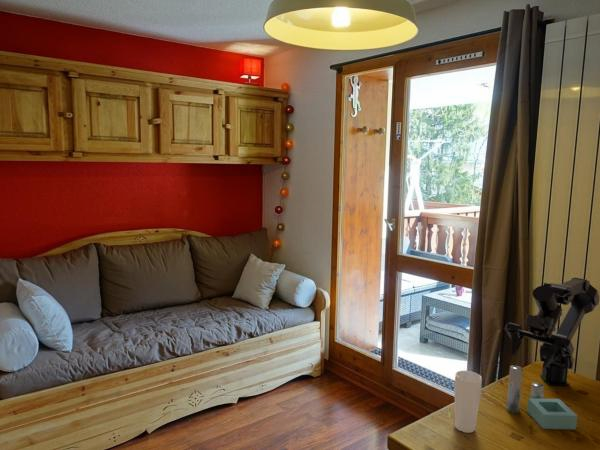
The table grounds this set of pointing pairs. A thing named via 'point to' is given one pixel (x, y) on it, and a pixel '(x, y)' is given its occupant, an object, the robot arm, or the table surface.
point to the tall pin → (514, 389)
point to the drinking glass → (467, 400)
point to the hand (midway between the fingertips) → (527, 362)
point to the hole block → (552, 413)
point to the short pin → (537, 391)
